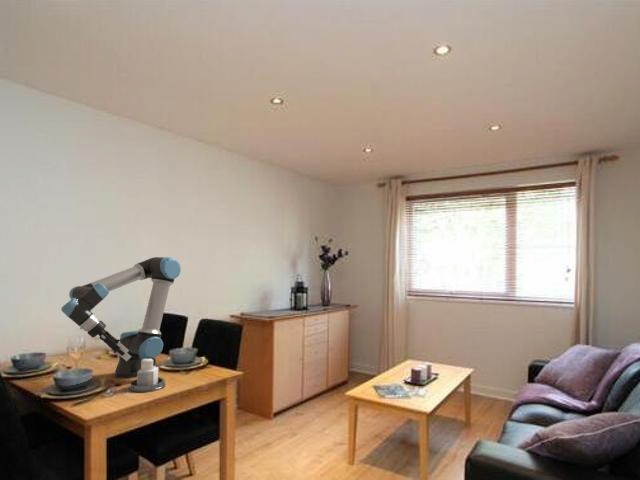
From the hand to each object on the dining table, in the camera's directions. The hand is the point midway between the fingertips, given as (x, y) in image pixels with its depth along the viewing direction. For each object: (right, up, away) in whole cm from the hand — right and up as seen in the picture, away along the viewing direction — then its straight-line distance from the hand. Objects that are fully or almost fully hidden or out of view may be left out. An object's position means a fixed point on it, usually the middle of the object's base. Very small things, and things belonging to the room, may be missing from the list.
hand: (127, 355), depth 187 cm
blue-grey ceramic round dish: (+8, -16, +4) cm, 19 cm away
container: (+8, -16, +4) cm, 18 cm away
